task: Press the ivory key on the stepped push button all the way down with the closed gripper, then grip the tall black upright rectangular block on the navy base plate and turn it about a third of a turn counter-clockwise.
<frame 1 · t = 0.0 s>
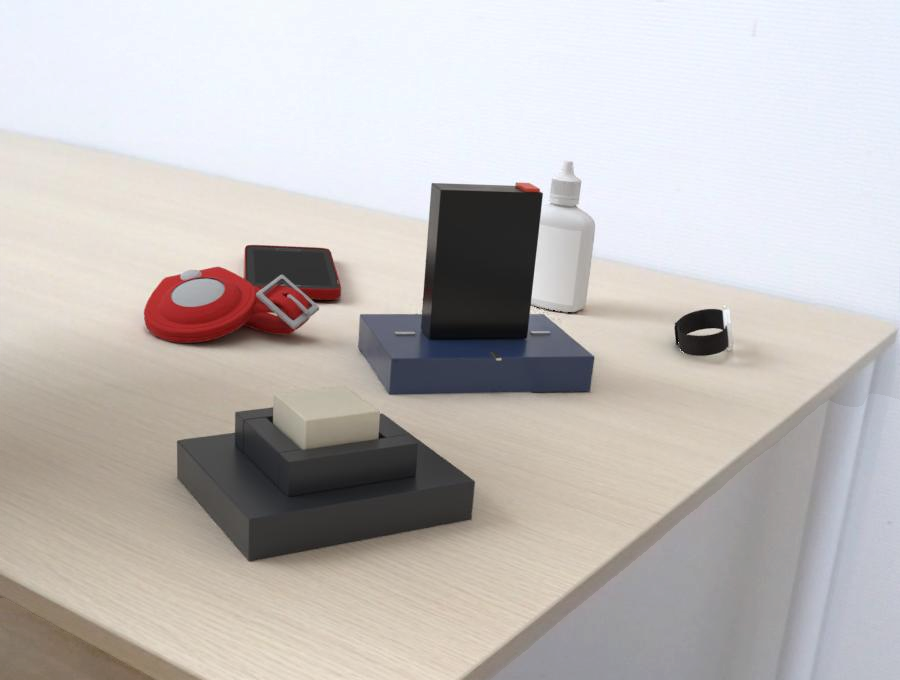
black upright rectangular block: (480, 260, 79), point 8 cm above the table, hinge at 0.0°
tracker holder: (225, 333, 85), on the table
stepped push button: (322, 499, 60), on the table
eye dropper bottle: (551, 307, 99), on the table
cell phone: (290, 279, 101), on the table
watch: (701, 351, 91), on the table
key: (325, 418, 59), point 4 cm above the table, slide at 0.1 cm
navy base plate: (470, 368, 82), on the table
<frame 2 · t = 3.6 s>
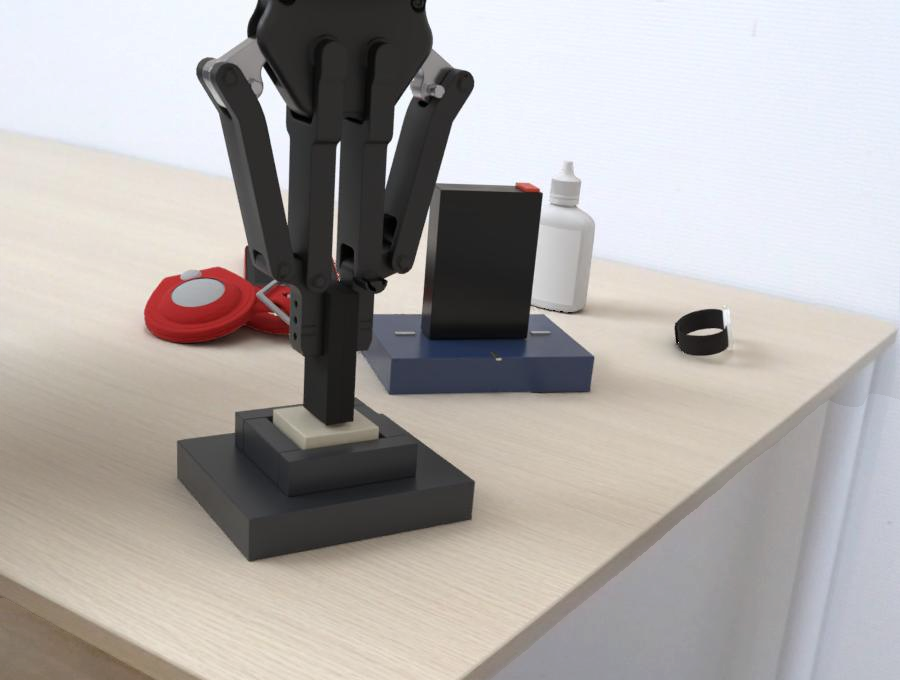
hand: (328, 413, 58), 5 cm above the table, tool pointing down, fingers closed
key: (324, 434, 59), point 4 cm above the table, slide at -0.8 cm, touching gripper
everything else where it was.
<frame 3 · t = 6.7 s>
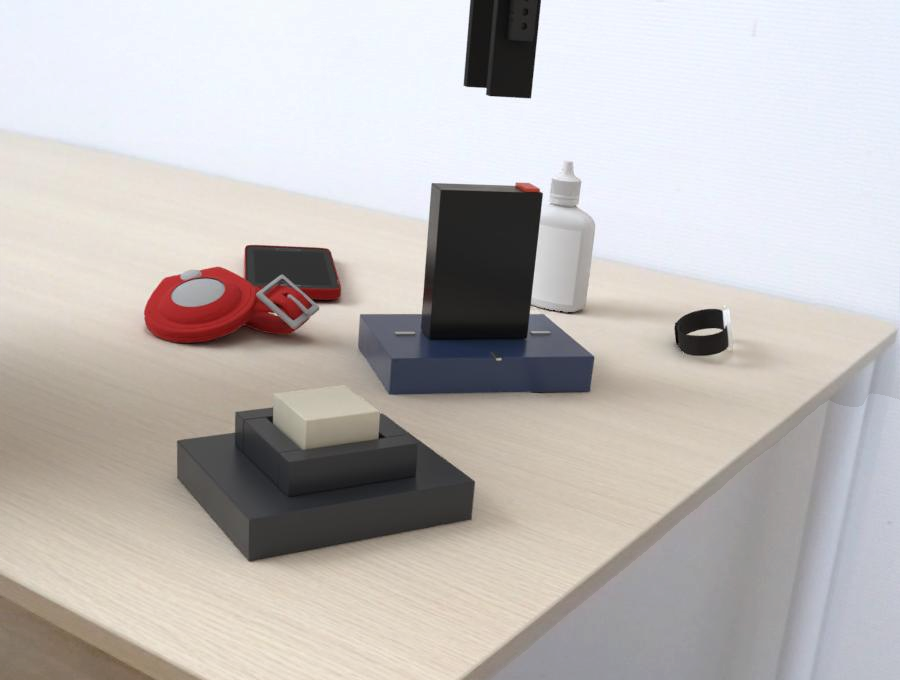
hand: (496, 91, 75), 19 cm above the table, tool pointing down, fingers open, 4 cm apart
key: (325, 418, 59), point 4 cm above the table, slide at 0.1 cm
everything else where it was.
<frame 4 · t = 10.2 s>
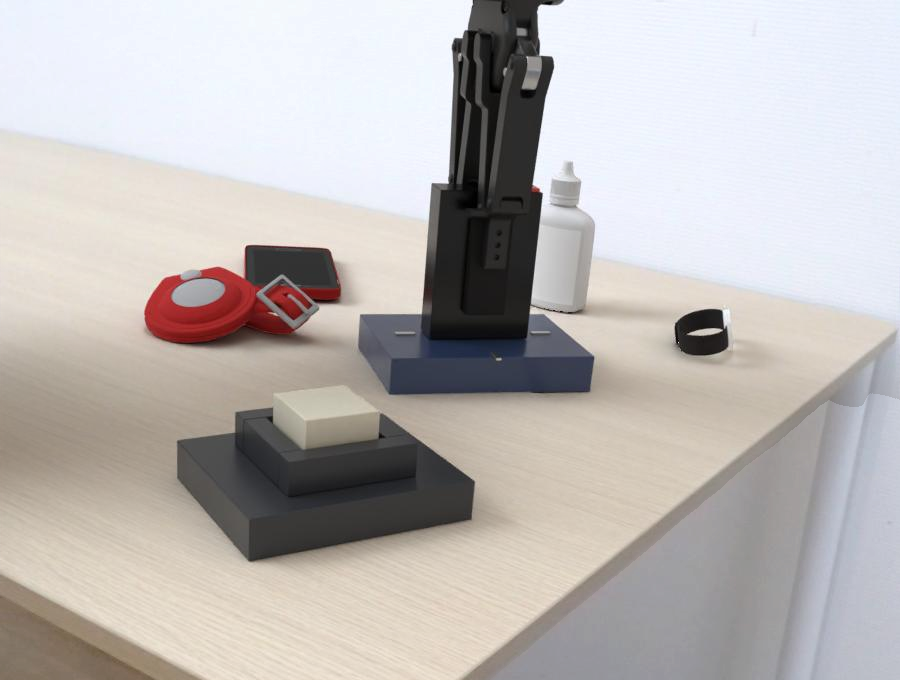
hand: (476, 306, 80), 5 cm above the table, tool pointing down, fingers closed on black upright rectangular block, 2 cm apart
black upright rectangular block: (480, 260, 79), point 8 cm above the table, hinge at 0.2°, touching gripper
everything else where it was.
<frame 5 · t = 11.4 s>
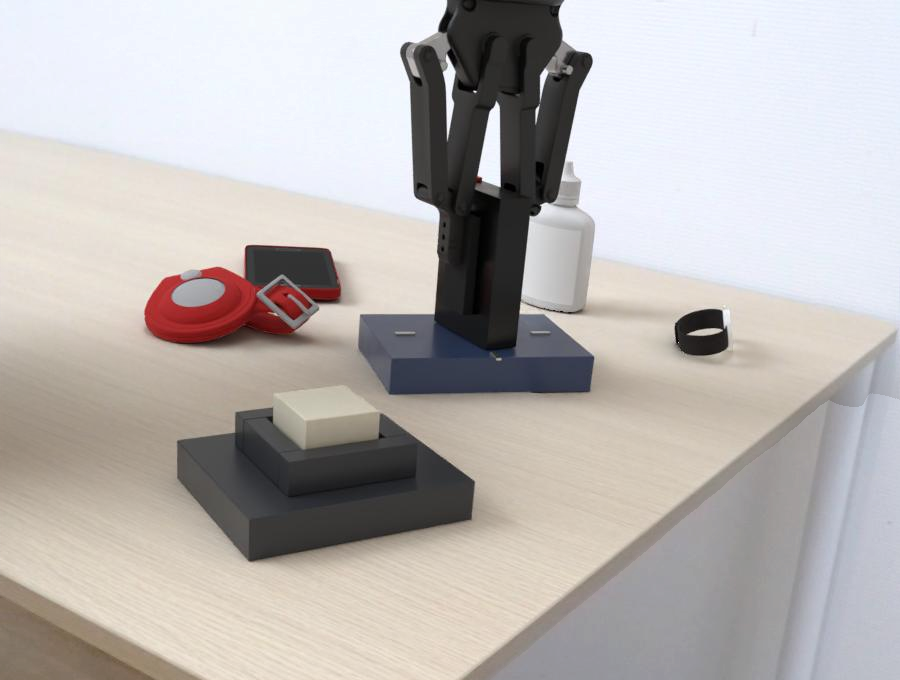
hand: (477, 307, 80), 4 cm above the table, tool pointing down, fingers closed on black upright rectangular block, 2 cm apart
black upright rectangular block: (480, 260, 79), point 8 cm above the table, hinge at 104.9°, touching gripper
everything else where it was.
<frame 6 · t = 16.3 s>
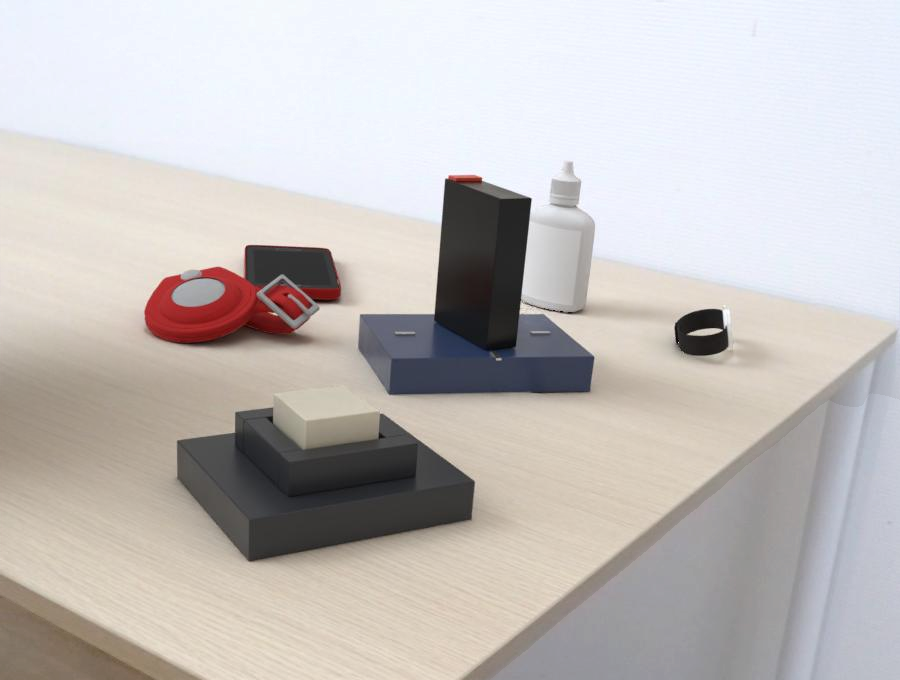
black upright rectangular block: (480, 260, 79), point 8 cm above the table, hinge at 104.9°
everything else where it was.
at the end: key pushed in 1.0 cm at the most during the clip, back to where it started at the end; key slide at 0.1 cm; black upright rectangular block at +105° (first picture: +0°) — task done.
